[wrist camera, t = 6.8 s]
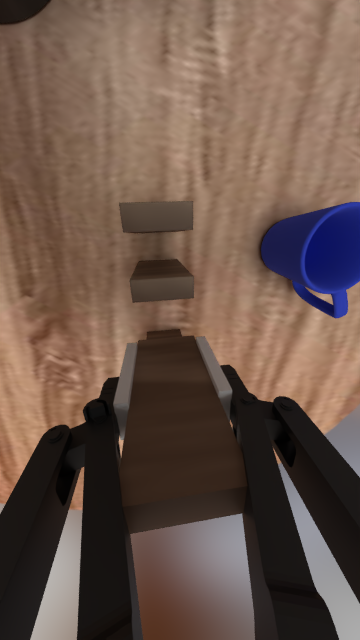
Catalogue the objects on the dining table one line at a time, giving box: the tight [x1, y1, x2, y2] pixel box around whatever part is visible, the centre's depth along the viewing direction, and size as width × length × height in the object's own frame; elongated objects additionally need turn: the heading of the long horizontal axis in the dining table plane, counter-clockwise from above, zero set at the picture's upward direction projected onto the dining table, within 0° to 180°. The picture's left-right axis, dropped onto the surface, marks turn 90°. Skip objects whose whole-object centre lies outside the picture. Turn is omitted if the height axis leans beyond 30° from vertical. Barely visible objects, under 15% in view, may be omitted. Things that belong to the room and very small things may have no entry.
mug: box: [261, 202, 360, 318], centre depth 24 cm, size 8×12×10 cm
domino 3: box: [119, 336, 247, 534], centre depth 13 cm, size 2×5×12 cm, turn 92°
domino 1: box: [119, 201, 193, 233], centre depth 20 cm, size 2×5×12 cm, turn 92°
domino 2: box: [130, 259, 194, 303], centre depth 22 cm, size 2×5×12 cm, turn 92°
